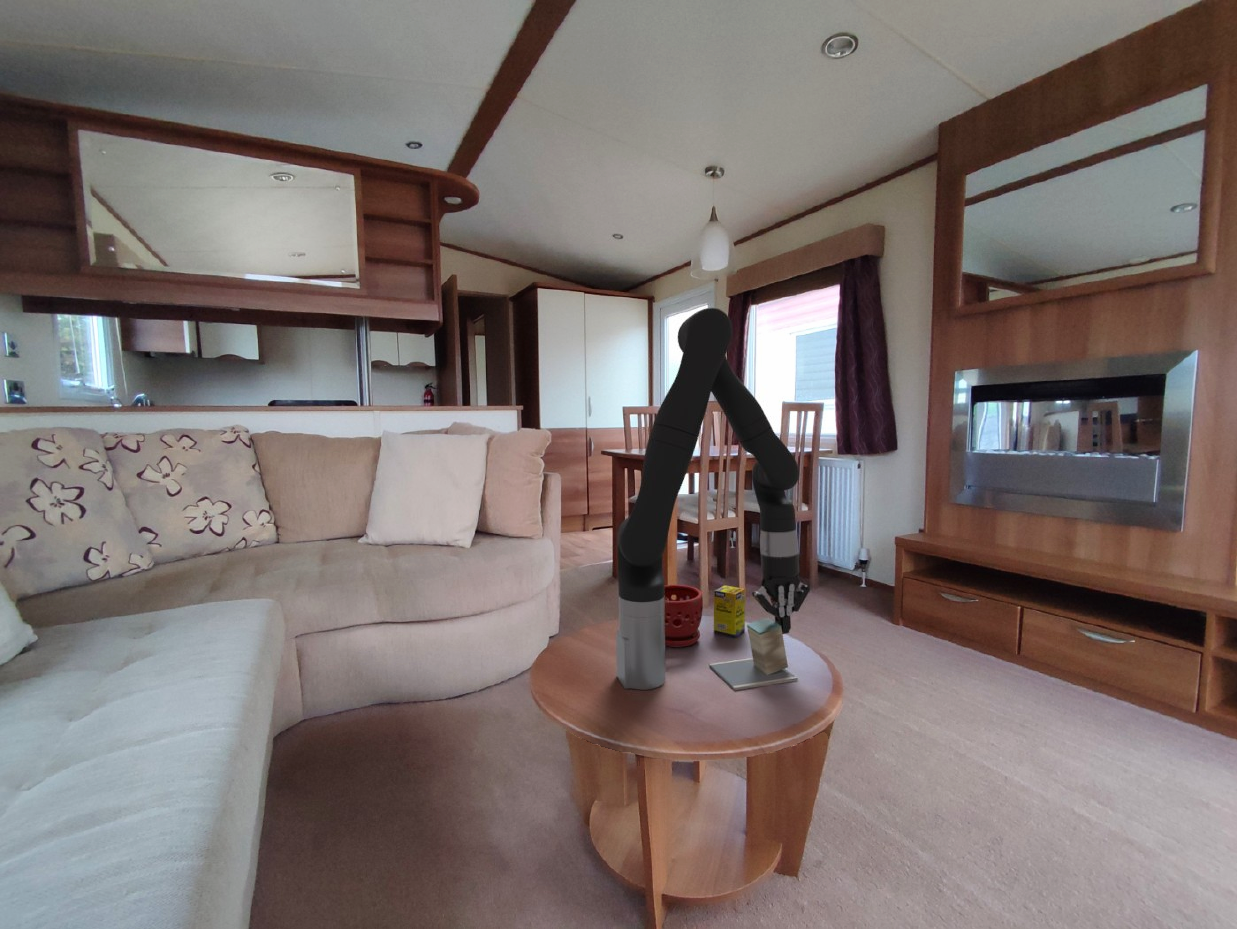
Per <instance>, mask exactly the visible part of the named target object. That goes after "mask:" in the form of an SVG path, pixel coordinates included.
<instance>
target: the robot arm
mask: <svg viewBox="0 0 1237 929" xmlns="http://www.w3.org/2000/svg"><path fill="white" fill-rule="evenodd" d="M732 338H733V326H732V321H731V320H730V317H729V316H728V314H727V313H726V312H725V311H724V310H722V309H720V308H718V307H705V308H702V309H700V310H697V311H696V312H695V313H693V314H692V315H691V316H689V317H688V318H686V319H685V320H684V321H683V322H682V324H681V325H680V327H679V328H678V332H677V343H678V347H679V349H680V350H681V351H682V357H681V359H680V365H679V368H678V370H677V373H676V377H675V378H674V380H673V382H672V384H671V386H670V388H669V390H668V391H667V393H666V395H665V397H664V399H663V400H662V402H661V405H660V407H659V408H658V410H657V413H656V415H655V418H654V421H653V424H652V427H651V430H650V433H649V437H648V439H647V444H646V449H645V452H644V457H643V458H644V459H643V465H642V473H641V479H640V486H639V490H638V493H637V498H636V500H635V502H634V505H633V507H632V510H631V512H630V515H629V516H628V517H626V518H625V519H624V520H623V521H622V522H621V524H620V525H619V527H618V530H617V538H616V545H617V546H616V547H617V548H616V549H617V550H616V551H617V554H616V555H617V583H618V586H617V587H618V629H617V630H616V632H615V633H616V634H615V635H616V636H615V638H616V643H615V644H616V647H615V648H616V676H617V678H618V680H619V681H620V683H621V684H622V687H623V688H624V689H634V690H652V689H656V688H659V687H661V686H662V685H663V684H664V683H665V681H666V645H665V600H666V597H665V585H666V584H665V578H664V571H663V554H664V552H665V550H666V546H667V542H668V537H669V532H670V526H671V522H672V518H673V512H674V509H675V504H676V502H677V501H676V500H677V499H678V495H679V493H680V490H681V488H682V485H683V483H684V480H685V478H686V475H687V473H688V472H687V471H688V470H689V467H690V464H691V461H692V459H693V456H694V452H695V449H696V446H697V442H698V440H699V437H700V433H701V429H702V426H703V421H704V418H705V415H706V412H707V409H708V404H709V400H710V397H711V393H712V395H713V397H714V398H715V400H716V402H717V404H718V406H719V407H720V409H721V410H722V413H724V416H725V418H726V419H727V422H728V423H729V425H730V427H731V429H732V431H733V433H734V435H735V437H736V439H737V440H738V442H739V444H740V446H741V447H742V448H743V450H744V451H745V452H746V453H748V454H750V455H752V456H753V457H754V459H755V460H756V461H755V463H754V464H753V467H752V470H751V477H752V478H751V480H752V484H753V490H754V494H755V499H756V501H757V504H758V508H759V521H760V522H759V523H760V525H759V526H760V537H759V547H760V548H759V551H760V568H761V573H762V580H761V583H760V584H761V586H760V587H759V589H758V590H757V591H756V590H753V591H752V593H751V596H752V597H753V599H755V600H756V601H757V603H758V604H759V605H760V606H761V607H762V608H763V610H765V612H767V613H769V614H770V615H772V616H774V622H776V623H777V624H779V625H781V628H782V634H783V635H786V634H789V633H790V630H791V629H792V623H791V621H792V620H791V616H792V614H793V613H794V612H797V613H798V612H799V610H801V607H802V605H803V603H804V601H805V599H806V598H807V597H808V594H809V593H810V591H811V587H810V586H808V585H807V584H804V583H803V582H801V578H800V576H799V573H800V559H799V540H798V534H797V525H796V524H797V523H796V509H795V505H794V504H793V503H792V502H791V501H790V500H789V499H788V498H787V495H786V492H785V491H788V490H790V489H792V488H794V487H795V486H796V485H797V483H798V482H799V478H800V470H799V465H798V462H797V460H796V459H795V456H794V455H793V454H792V452H791V451H790V449H788V447H787V446H786V445H785V444H784V442H783V441H782V440H781V439H780V437H778V436H777V434H776V433H775V432H774V429H773V427H772V425H771V423H770V421H769V419H768V417H767V416H766V413H765V412H764V410H763V408H762V406H761V404H760V403H759V402H758V400H757V399H756V397H755V396H754V395H753V394H752V393H751V392H750V390H749V389H748V388H747V387H746V386H745V384H744V383H743V382H742V380H740V378H739V377H738V375H737V374H736V373H735V371H734V370H733V368H732V366H731V365H730V363H729V361H728V359H727V352H728V350H729V347H730V345H731V342H732ZM768 596H769V597H770V598H769V599H770V601H769V600H768V599H767V598H768Z"/></svg>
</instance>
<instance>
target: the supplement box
mask: <svg viewBox="0 0 1237 929" xmlns="http://www.w3.org/2000/svg"><path fill="white" fill-rule="evenodd" d="M745 601H746V589H745V588H742V587H736V586H730V585H725V584H724V585H723V586H721V587H718V588H716V589H713V633H714V634H717V635H721V636H725V637H730V638H737V637H738V636H739V635H741V634H742V633H744V632H745V631H746V627H745V623H746V618H745V617H746V614H745V613H746V609H745V608H746V602H745Z"/></svg>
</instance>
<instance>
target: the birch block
mask: <svg viewBox="0 0 1237 929" xmlns="http://www.w3.org/2000/svg"><path fill="white" fill-rule="evenodd" d="M746 626H747V633H748V638H749V644H750V650H751V651H750V652H751V656H752V658H753V662H754V665H755V666H756V667H758V668H759V669H760V670H761V671H763V672H764V673H765V674H766V675H768V674H771V673H774V672H777V671H779V670H782V669H787V668H789V665H788V660H787V653H786V648H785V647H786V646H785V640H784V634H782V628H781V625H779V624H777V623H776V622H775V620H774V621H773V619H770V618H768V617H765V618H762V619H759V620H755V621H753V622H750V623H748V624H746Z"/></svg>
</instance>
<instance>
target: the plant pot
mask: <svg viewBox="0 0 1237 929" xmlns="http://www.w3.org/2000/svg"><path fill="white" fill-rule="evenodd" d="M672 596H676V598H674V599H673V598H672ZM687 597H689V598H687ZM665 598H667V600H666V599H665V647H666V646H667V647H671V648H683V647H688V646H692V645H693V644H695V643H696V642H697V641H699V639H700V637H701V632H700V630H699V627H700V625H701V622H702V617H703V608H704V606H703V605H704V600H703V592H702V591H701V590H700V589H699V588H696V587H694V586H691V585H686V584H667V585H666V584H665ZM681 599H682V600H681Z"/></svg>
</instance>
